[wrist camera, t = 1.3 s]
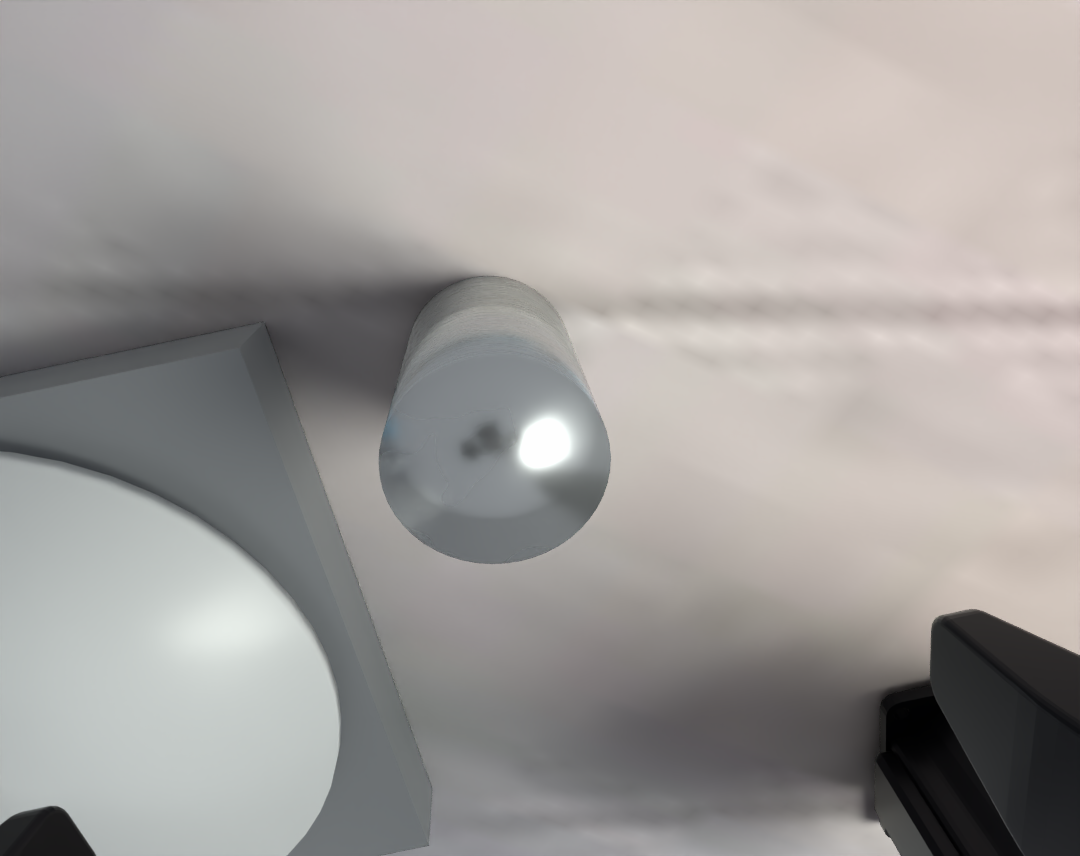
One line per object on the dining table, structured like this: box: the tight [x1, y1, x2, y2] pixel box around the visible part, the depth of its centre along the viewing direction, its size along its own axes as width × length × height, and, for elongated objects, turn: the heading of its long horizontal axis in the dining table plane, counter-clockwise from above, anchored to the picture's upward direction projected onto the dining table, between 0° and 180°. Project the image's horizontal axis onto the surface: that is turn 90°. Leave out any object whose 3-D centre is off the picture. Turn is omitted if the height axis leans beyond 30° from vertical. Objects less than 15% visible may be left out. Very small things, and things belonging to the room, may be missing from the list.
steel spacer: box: [379, 276, 611, 564], centre depth 15 cm, size 4×4×6 cm
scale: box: [0, 322, 432, 856], centre depth 19 cm, size 16×17×3 cm
